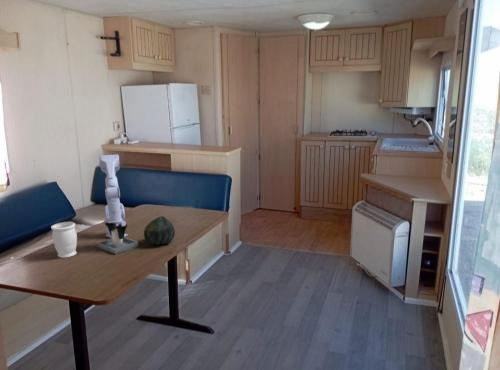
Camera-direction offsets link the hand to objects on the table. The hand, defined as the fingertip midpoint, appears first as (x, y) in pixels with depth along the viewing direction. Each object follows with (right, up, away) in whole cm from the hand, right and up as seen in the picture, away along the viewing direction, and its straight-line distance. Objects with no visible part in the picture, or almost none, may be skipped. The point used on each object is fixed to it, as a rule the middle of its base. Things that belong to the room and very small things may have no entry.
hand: (117, 237), depth 198 cm
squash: (+20, -4, +6) cm, 22 cm away
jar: (-22, -8, -7) cm, 24 cm away
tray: (0, -5, +1) cm, 5 cm away
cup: (0, -5, +1) cm, 5 cm away
